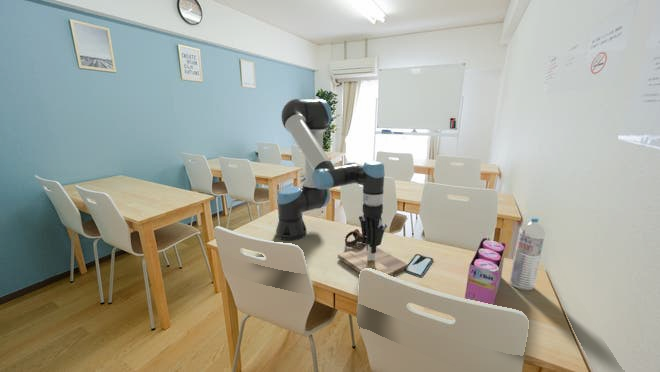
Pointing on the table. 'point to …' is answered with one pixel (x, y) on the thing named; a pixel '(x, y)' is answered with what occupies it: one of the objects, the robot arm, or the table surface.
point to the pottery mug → (357, 237)
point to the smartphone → (418, 265)
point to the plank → (362, 262)
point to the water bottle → (527, 255)
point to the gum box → (485, 271)
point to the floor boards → (386, 260)
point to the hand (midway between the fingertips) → (371, 259)
